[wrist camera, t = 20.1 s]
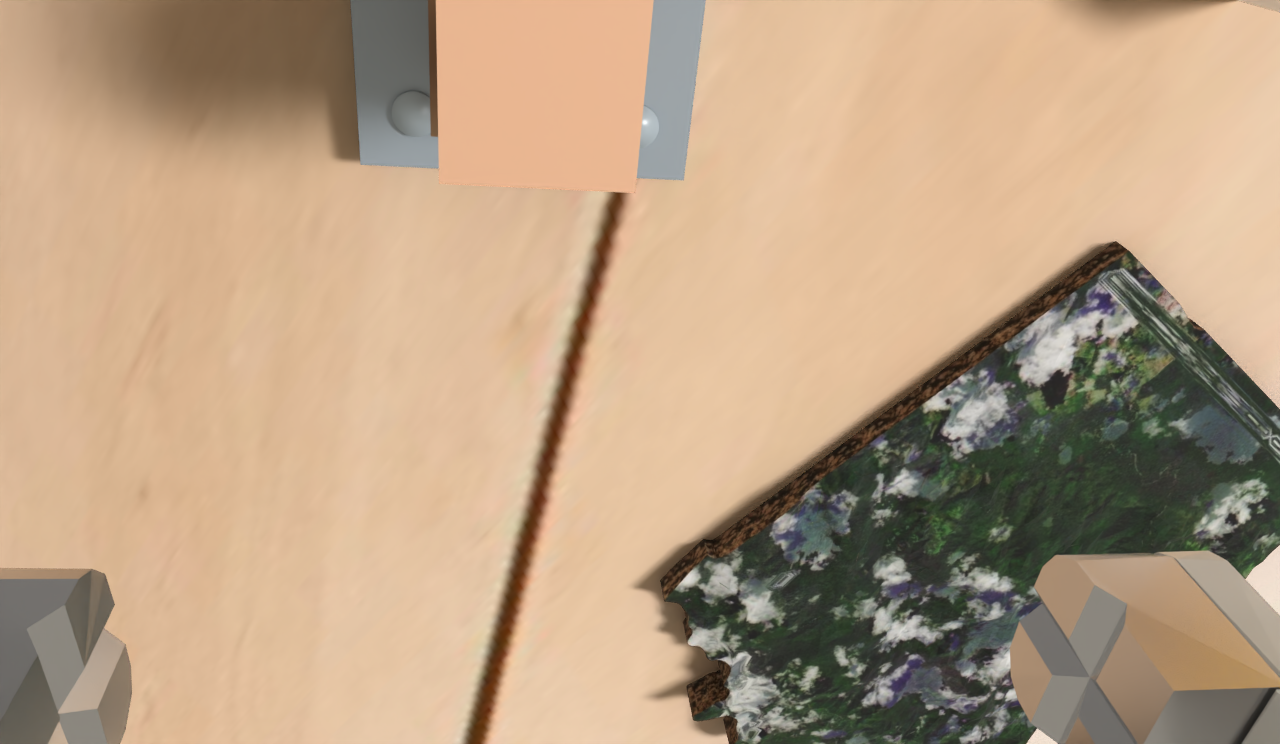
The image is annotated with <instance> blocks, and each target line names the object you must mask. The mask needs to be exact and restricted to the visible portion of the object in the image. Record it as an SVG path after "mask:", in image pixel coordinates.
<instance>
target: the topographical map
mask: <svg viewBox="0 0 1280 744" xmlns="http://www.w3.org/2000/svg"><path fill="white" fill-rule="evenodd" d="M1279 545H1280V409H1279V408H1278V407H1277V406H1276V405H1275V404H1274V403H1273V402H1272V401H1271V399H1270V398H1269V397H1268V396H1267V395H1266V394H1265V393H1264V392H1263V391H1262V390H1261V389H1260V388H1259V387H1258V386H1257V385H1256V384H1255V383H1254V382H1253V381H1252V380H1251V378H1250V377H1249V376H1248V375H1247V374H1246V373H1245V372H1244V371H1243V370H1242V369H1241V368H1240V367H1239V366H1238V365H1237V364H1236V363H1235V362H1234V361H1233V360H1232V358H1231V357H1230V356H1229V355H1228V354H1227V353H1226V352H1225V351H1224V350H1223V349H1222V348H1221V347H1220V346H1219V345H1218V344H1217V343H1216V342H1215V341H1214V340H1213V339H1212V337H1211V336H1210V335H1209V334H1208V333H1207V332H1206V331H1205V330H1204V329H1202V328H1201V327H1200V326H1199V325H1197V324H1196V323H1195V322H1193V321H1192V320H1191V319H1188V317H1187V315H1186V314H1185V312H1184V310H1183V309H1182V307H1181V305H1180V304H1179V303H1178V302H1177V301H1176V300H1175V299H1174V298H1173V296H1172V295H1171V294H1170V293H1169V292H1168V291H1167V290H1166V289H1165V288H1164V287H1163V286H1162V285H1161V284H1160V283H1159V282H1158V281H1157V280H1156V279H1155V278H1154V277H1153V275H1152V274H1151V273H1150V272H1149V271H1148V270H1147V269H1146V268H1145V267H1144V266H1143V265H1142V264H1141V263H1140V262H1139V261H1138V260H1137V259H1136V258H1135V257H1134V256H1133V254H1132V253H1131V252H1130V251H1128V250H1127V249H1126V248H1124V247H1123V246H1122V245H1120V244H1119V243H1118V242H1114V243H1113V244H1112V245H1110V246H1109V247H1108V248H1106V249H1105V250H1104V251H1102V252H1101V253H1100V254H1098V255H1097V256H1095V257H1094V258H1093V259H1091V260H1090V261H1089V262H1087V263H1086V264H1085V265H1083V266H1082V267H1081V268H1079V269H1078V270H1077V271H1075V272H1074V273H1073V274H1071V275H1070V276H1069V277H1067V278H1066V279H1065V280H1063V281H1062V282H1060V283H1059V284H1058V285H1056V286H1055V287H1054V288H1052V289H1051V290H1050V291H1048V292H1047V293H1046V294H1044V295H1043V296H1042V297H1040V298H1039V299H1038V300H1036V301H1035V302H1034V303H1032V304H1031V305H1030V306H1028V307H1027V308H1026V309H1024V310H1023V311H1021V312H1020V313H1019V314H1017V315H1016V316H1015V317H1013V318H1012V319H1011V320H1009V321H1008V322H1007V323H1005V324H1004V325H1003V326H1001V327H1000V328H999V329H997V330H996V331H995V332H993V333H992V334H991V335H989V336H988V337H986V338H985V339H984V340H982V341H981V342H980V343H978V344H977V345H976V346H974V347H973V348H972V349H970V350H969V351H968V352H966V353H965V354H964V355H962V356H961V357H960V358H958V359H957V360H956V361H954V362H953V363H951V364H950V365H949V366H947V367H946V368H945V369H943V370H942V371H941V372H939V373H938V374H937V375H935V376H934V377H933V378H931V379H930V380H929V381H927V382H926V383H925V384H923V385H922V386H921V387H919V388H918V389H917V390H915V391H914V392H912V393H911V394H910V395H908V396H907V397H906V398H904V399H903V400H902V401H900V402H899V403H898V404H896V405H895V406H894V407H892V408H891V409H890V410H888V411H887V412H886V413H884V414H883V415H881V416H880V417H879V418H877V419H876V420H875V421H873V422H872V423H871V424H869V425H868V426H867V427H865V428H864V429H863V430H861V431H860V432H859V433H857V434H856V435H855V436H853V437H852V438H850V439H849V440H848V441H846V442H845V443H844V444H842V445H841V446H840V447H838V448H837V449H836V450H834V451H833V452H832V453H830V454H829V455H828V456H826V457H825V458H824V459H822V460H821V461H820V462H818V463H817V464H816V465H814V466H813V467H812V468H810V469H809V470H807V471H806V472H805V473H803V474H802V475H801V476H799V477H798V478H797V479H795V480H794V481H793V482H791V483H790V484H789V485H787V486H786V487H785V488H783V489H782V490H780V491H779V492H778V493H776V494H775V495H774V496H772V497H771V498H770V499H768V500H767V501H766V502H764V503H763V504H762V505H760V506H759V507H758V508H756V509H755V510H754V511H752V512H751V513H750V514H748V515H747V516H746V517H744V518H743V519H741V520H740V521H739V522H737V523H736V524H735V525H733V526H732V527H731V528H729V529H728V530H727V531H725V532H724V533H723V534H721V535H720V536H719V537H717V538H716V539H714V540H705V539H703V540H702V541H701V542H700V543H699V544H698V545H697V546H696V547H694V548H693V549H692V550H691V551H690V552H689V553H688V554H687V555H686V556H685V557H684V558H683V559H682V560H681V561H679V562H678V563H677V564H676V565H675V566H674V567H673V568H672V569H671V570H670V571H669V572H668V573H667V574H666V575H665V576H664V577H663V578H662V579H661V580H660V582H661V587H662V592H663V596H664V601H665V602H674V603H679V604H680V605H681V606H682V608H683V609H684V610H685V613H686V618H685V620H684V622H683V624H684V628H685V633H686V638H687V643H688V644H689V645H690V646H699V647H701V648H702V649H703V650H704V651H705V653H706V656H707V658H708V659H709V660H711V661H714V660H718V663H719V667H720V670H719V671H717V672H714V673H710V674H708V675H706V676H705V677H703V678H701V679H699V680H697V681H696V682H693V683H691V684H689V685H688V686H687V692H688V697H689V702H690V707H691V712H692V717H693V720H694V721H703V720H710V719H714V718H718V717H722V716H725V718H724V719H723V720H724V724H725V728H726V733H727V737H728V741H729V744H1026V743H1027V742H1028V740H1029V739H1030V737H1031V736H1032V735H1033V733H1034V732H1035V730H1036V729H1037V727H1035V726H1034V725H1033V724H1031V723H1030V721H1029V719H1028V717H1027V715H1026V714H1025V712H1024V710H1023V708H1022V706H1021V704H1020V703H1019V701H1018V699H1017V695H1016V692H1015V689H1014V685H1013V682H1012V679H1011V667H1010V646H1011V643H1012V640H1013V638H1014V635H1015V632H1016V629H1017V627H1018V624H1019V621H1021V620H1022V619H1023V618H1024V617H1026V616H1027V615H1028V614H1029V613H1031V612H1032V611H1033V610H1034V609H1036V608H1037V607H1038V606H1039V605H1041V604H1042V603H1041V601H1040V599H1039V597H1038V594H1037V592H1036V590H1035V588H1034V585H1035V583H1036V581H1037V578H1038V576H1039V574H1040V572H1041V569H1042V567H1043V566H1044V565H1045V564H1046V563H1047V562H1048V561H1050V560H1051V559H1052V558H1053V557H1054V556H1055V555H1080V554H1123V553H1152V554H1154V553H1157V552H1180V551H1210V552H1212V553H1214V554H1216V555H1218V556H1220V557H1222V558H1223V559H1225V560H1227V561H1228V562H1229V563H1230V564H1231V565H1232V566H1233V567H1234V568H1235V569H1236V570H1237V571H1238V572H1239V573H1240V574H1241V576H1242V577H1243V578H1244V579H1246V578H1247V576H1248V575H1249V573H1250V572H1251V571H1252V569H1253V568H1254V567H1256V566H1257V565H1258V564H1260V563H1261V562H1263V561H1264V560H1265V558H1266V557H1267V556H1268V555H1269V554H1270V553H1271V552H1272V551H1273V550H1274V549H1276V548H1277V547H1278V546H1279Z"/></svg>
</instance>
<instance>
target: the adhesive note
mask: <svg viewBox="0 0 1280 744" xmlns="http://www.w3.org/2000/svg"><path fill="white" fill-rule="evenodd" d="M1237 1H1241V2H1244V3H1248V4H1251V5H1255V6H1258V7H1262V8H1265V9H1269V10H1272V11H1276V12H1280V0H1237Z"/></svg>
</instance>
